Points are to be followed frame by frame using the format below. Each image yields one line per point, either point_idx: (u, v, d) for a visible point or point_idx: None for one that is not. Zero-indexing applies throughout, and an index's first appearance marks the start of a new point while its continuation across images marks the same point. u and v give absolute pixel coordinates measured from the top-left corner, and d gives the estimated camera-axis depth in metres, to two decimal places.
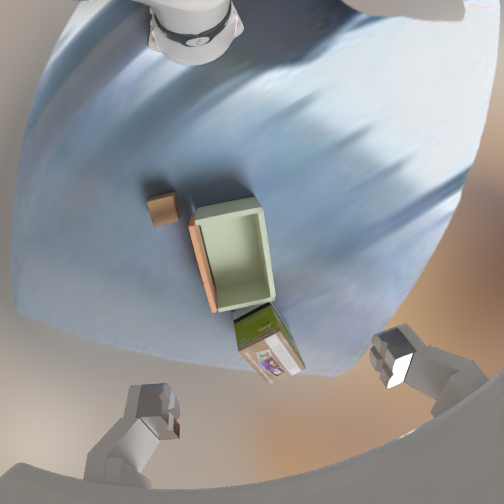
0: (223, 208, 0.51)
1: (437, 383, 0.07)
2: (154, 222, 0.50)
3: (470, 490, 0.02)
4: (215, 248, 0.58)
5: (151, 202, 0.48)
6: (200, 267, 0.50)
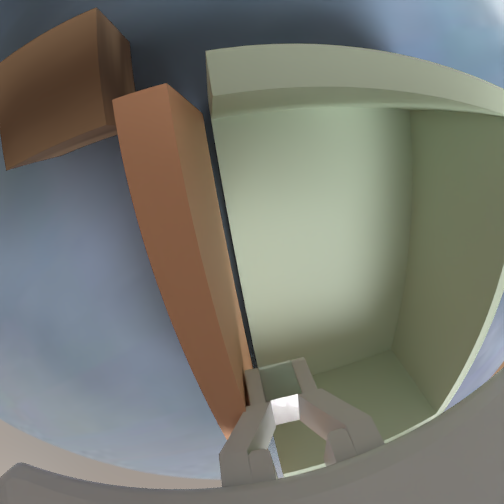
0: None
1: (328, 431, 0.07)
2: (8, 148, 0.07)
3: (470, 490, 0.02)
4: (276, 270, 0.15)
5: (10, 59, 0.05)
6: (218, 408, 0.07)
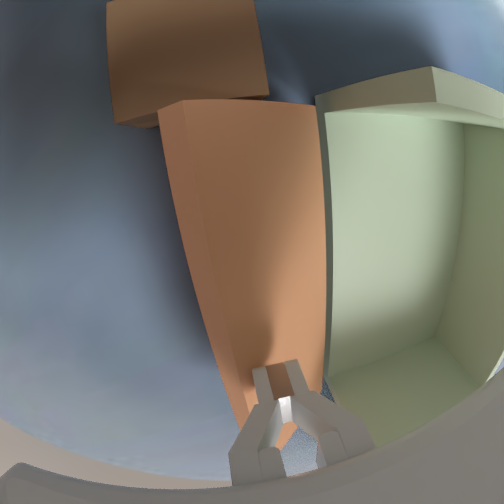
0: None
1: (321, 433, 0.07)
2: (121, 97, 0.07)
3: (470, 490, 0.02)
4: (363, 258, 0.15)
5: (128, 0, 0.05)
6: (220, 360, 0.09)
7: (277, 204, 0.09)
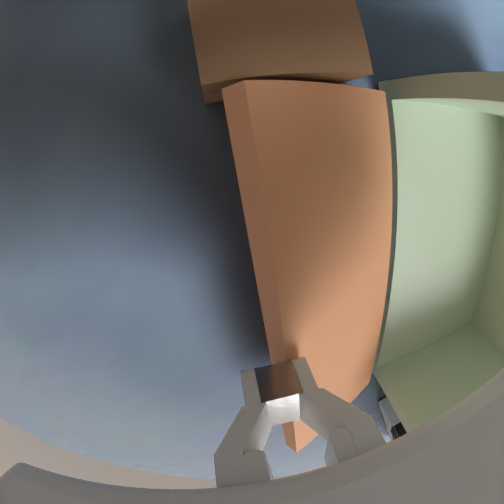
0: None
1: (330, 431, 0.07)
2: (210, 55, 0.06)
3: (470, 490, 0.02)
4: (420, 247, 0.14)
5: None
6: (270, 336, 0.10)
7: (342, 187, 0.09)
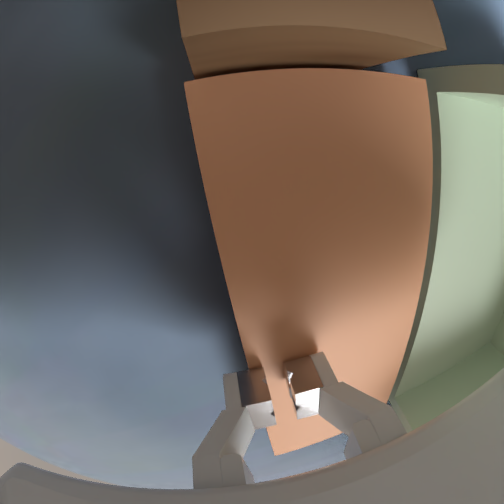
0: None
1: (349, 424, 0.07)
2: None
3: (470, 490, 0.02)
4: (456, 270, 0.11)
5: None
6: None
7: (334, 194, 0.07)
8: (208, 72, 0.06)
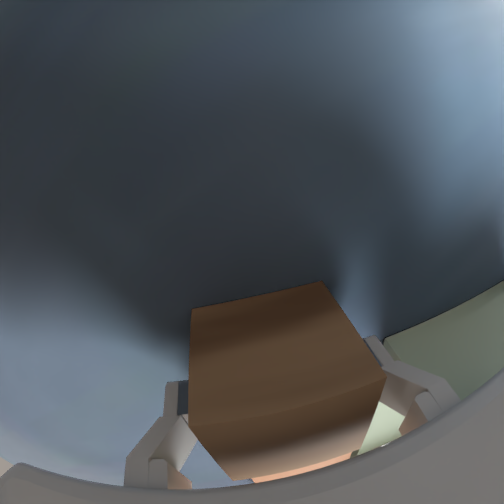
0: (500, 355, 0.08)
1: (405, 400, 0.07)
2: (237, 473, 0.07)
3: (470, 490, 0.02)
4: (390, 421, 0.15)
5: (224, 427, 0.06)
6: None
7: None
8: None
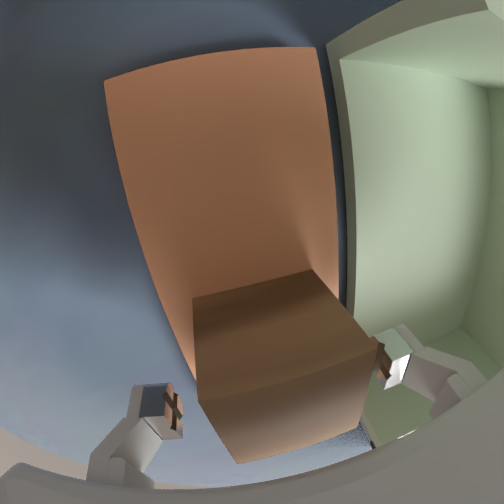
0: None
1: (435, 384, 0.07)
2: (242, 455, 0.08)
3: (470, 490, 0.02)
4: (391, 236, 0.12)
5: (232, 400, 0.06)
6: None
7: (216, 150, 0.09)
8: None
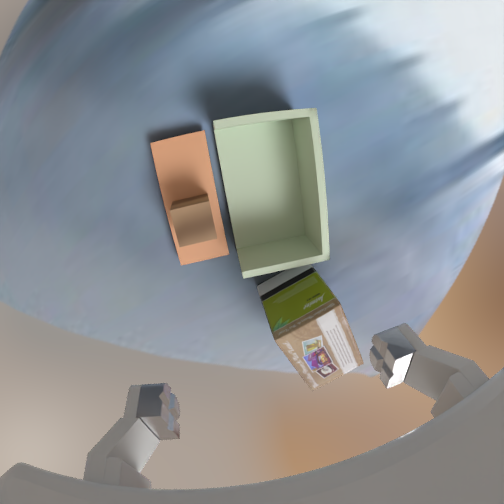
0: None
1: (437, 383, 0.07)
2: (180, 240, 0.34)
3: (470, 490, 0.02)
4: (238, 184, 0.38)
5: (176, 211, 0.33)
6: None
7: (179, 161, 0.35)
8: None
